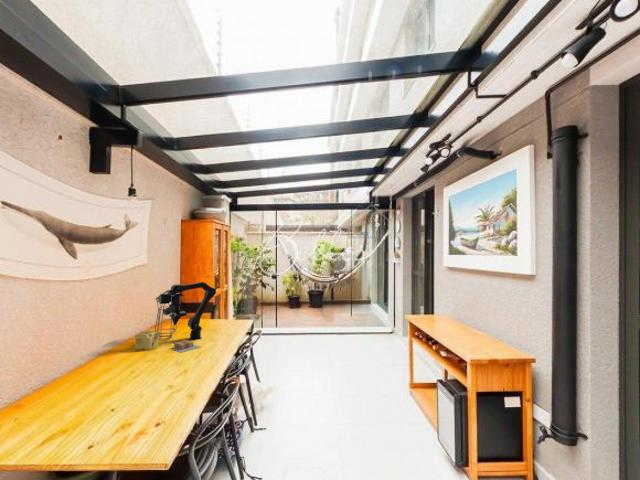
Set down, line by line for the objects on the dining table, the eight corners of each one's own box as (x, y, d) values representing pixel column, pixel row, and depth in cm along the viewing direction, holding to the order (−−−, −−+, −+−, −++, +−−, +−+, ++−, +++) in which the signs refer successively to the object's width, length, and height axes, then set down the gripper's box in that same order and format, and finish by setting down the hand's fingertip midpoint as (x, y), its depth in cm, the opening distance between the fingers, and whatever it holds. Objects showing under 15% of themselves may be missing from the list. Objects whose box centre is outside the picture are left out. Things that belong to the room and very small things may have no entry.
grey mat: (189, 343, 211) (189, 343, 211) (200, 347, 205) (200, 346, 205) (170, 349, 200) (170, 348, 200) (181, 352, 193) (181, 352, 193)
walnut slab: (185, 339, 209) (193, 342, 205) (185, 344, 209) (193, 346, 204) (174, 342, 203) (182, 345, 198) (174, 347, 203) (182, 349, 198)
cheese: (150, 350, 197) (150, 334, 197) (133, 349, 197) (134, 334, 198) (159, 345, 207) (159, 330, 208) (143, 345, 208) (143, 330, 208)
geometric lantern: (156, 335, 231) (159, 288, 233) (178, 334, 236) (181, 288, 238) (151, 341, 216) (154, 291, 218) (175, 340, 221) (178, 291, 223)
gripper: (157, 302, 214) (156, 325, 213) (172, 305, 204) (171, 329, 203) (172, 300, 223) (171, 322, 222) (187, 303, 213) (186, 326, 212)
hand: (174, 325), depth 215 cm, fingers closed
